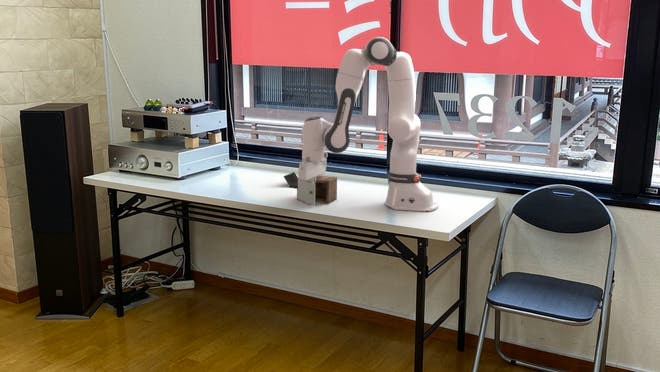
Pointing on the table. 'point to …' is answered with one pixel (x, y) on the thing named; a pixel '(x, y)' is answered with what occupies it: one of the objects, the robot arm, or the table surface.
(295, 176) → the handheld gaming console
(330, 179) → the walnut cabinet
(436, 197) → the table surface
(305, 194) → the cabinet door
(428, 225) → the table surface
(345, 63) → the robot arm
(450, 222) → the table surface
